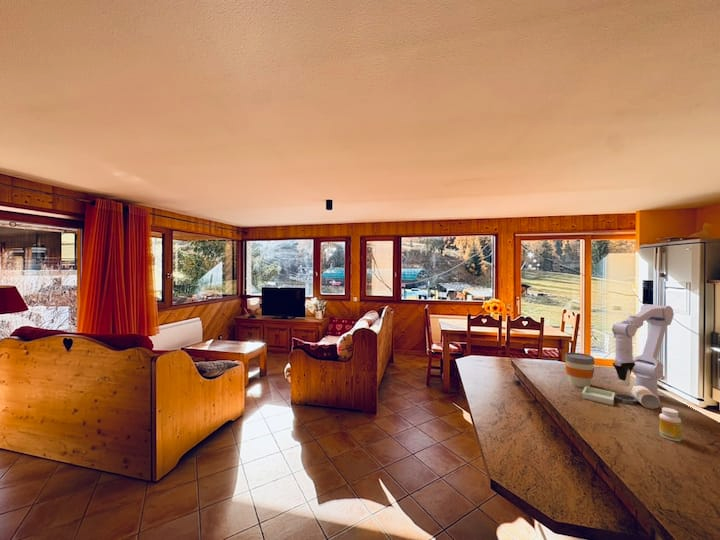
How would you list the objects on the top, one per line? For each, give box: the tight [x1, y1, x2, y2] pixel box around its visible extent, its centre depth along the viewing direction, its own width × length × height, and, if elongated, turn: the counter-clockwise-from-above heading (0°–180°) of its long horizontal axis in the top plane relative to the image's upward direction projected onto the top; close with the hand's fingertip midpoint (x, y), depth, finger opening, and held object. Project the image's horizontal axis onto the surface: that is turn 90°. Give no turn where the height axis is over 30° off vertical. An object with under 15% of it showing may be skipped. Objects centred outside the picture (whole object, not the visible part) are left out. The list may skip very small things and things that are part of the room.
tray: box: [581, 386, 616, 406], centre depth 135 cm, size 11×11×2 cm
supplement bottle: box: [658, 407, 683, 442], centre depth 103 cm, size 5×5×10 cm
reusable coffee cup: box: [564, 352, 595, 389], centre depth 151 cm, size 13×12×15 cm
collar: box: [614, 392, 639, 406], centre depth 132 cm, size 8×8×2 cm
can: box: [630, 384, 661, 410], centre depth 129 cm, size 6×6×12 cm
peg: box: [617, 369, 631, 387], centre depth 132 cm, size 4×4×8 cm
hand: (624, 378), depth 132 cm, fingers closed on peg, 4 cm apart
